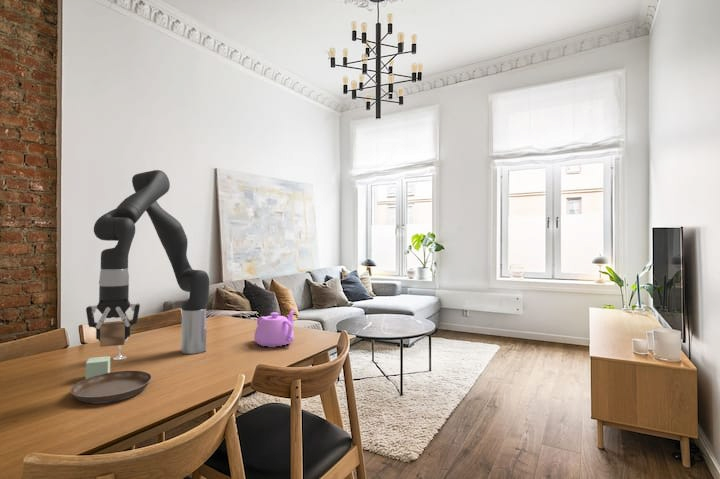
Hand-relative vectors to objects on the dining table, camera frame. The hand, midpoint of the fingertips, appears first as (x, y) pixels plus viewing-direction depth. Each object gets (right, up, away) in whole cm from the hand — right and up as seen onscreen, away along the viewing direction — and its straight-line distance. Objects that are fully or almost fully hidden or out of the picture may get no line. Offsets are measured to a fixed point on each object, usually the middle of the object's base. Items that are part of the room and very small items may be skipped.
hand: (113, 339), depth 120 cm
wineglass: (-18, -16, +33) cm, 40 cm away
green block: (-12, -16, +12) cm, 23 cm away
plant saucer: (0, -16, 0) cm, 16 cm away
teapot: (+37, -16, +58) cm, 71 cm away
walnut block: (0, -1, 0) cm, 1 cm away
